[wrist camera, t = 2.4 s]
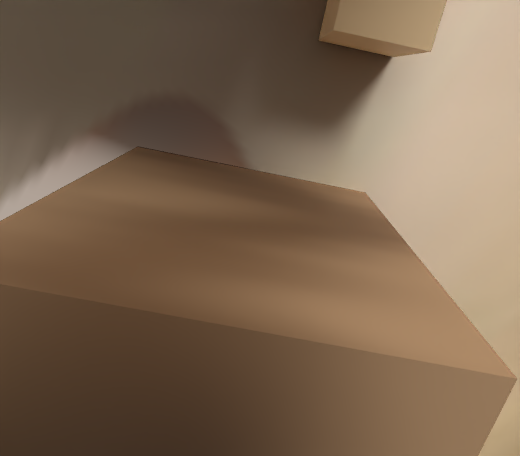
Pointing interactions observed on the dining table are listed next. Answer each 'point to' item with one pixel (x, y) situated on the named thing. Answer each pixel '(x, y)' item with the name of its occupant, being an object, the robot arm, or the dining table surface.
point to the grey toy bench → (383, 25)
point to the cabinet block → (229, 323)
